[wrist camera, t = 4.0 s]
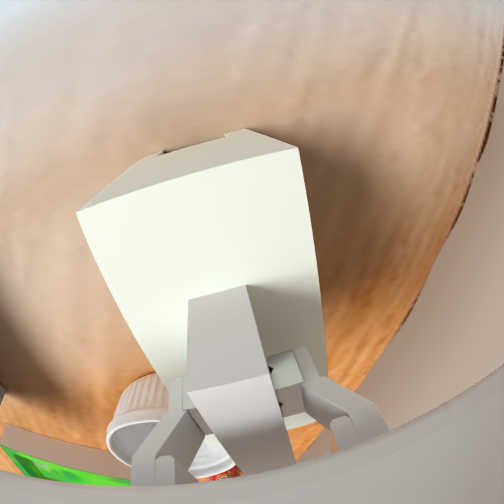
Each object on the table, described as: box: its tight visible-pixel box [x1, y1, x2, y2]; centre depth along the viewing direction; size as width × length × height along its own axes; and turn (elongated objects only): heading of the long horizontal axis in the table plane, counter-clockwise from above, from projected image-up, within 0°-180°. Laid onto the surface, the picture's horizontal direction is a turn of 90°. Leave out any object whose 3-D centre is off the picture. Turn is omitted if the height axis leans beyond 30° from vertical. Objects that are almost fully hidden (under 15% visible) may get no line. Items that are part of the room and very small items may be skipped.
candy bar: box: [210, 466, 236, 481], centre depth 38 cm, size 16×4×3 cm, turn 173°
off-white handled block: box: [76, 128, 328, 476], centre depth 15 cm, size 14×7×16 cm, turn 13°
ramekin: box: [106, 373, 236, 478], centre depth 27 cm, size 13×13×7 cm
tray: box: [0, 423, 131, 486], centre depth 35 cm, size 25×25×5 cm
